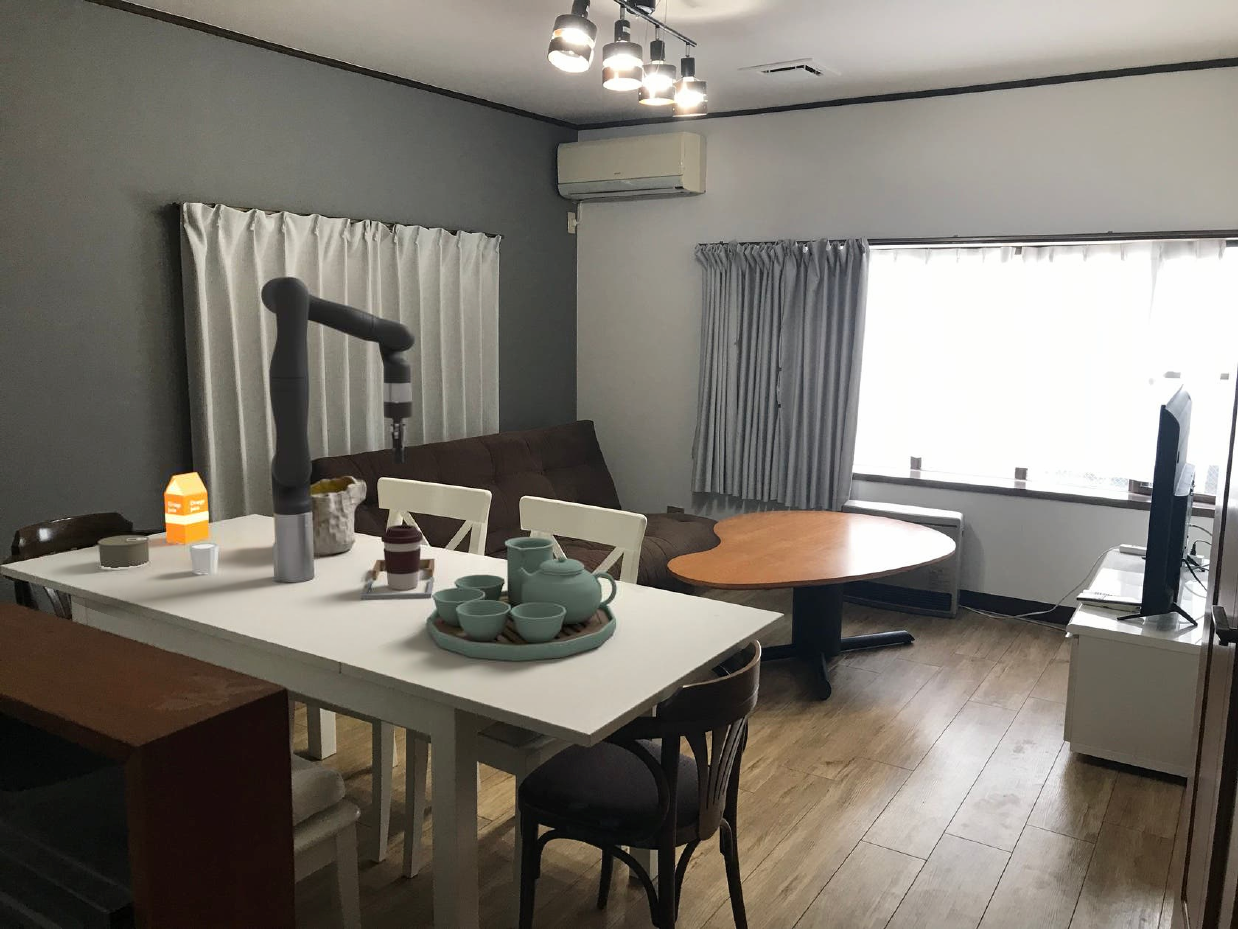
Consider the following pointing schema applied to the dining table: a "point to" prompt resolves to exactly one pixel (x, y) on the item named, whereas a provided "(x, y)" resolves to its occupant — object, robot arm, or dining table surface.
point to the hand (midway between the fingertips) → (398, 463)
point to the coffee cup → (402, 556)
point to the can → (124, 551)
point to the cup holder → (423, 565)
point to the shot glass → (204, 558)
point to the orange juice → (186, 509)
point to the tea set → (525, 608)
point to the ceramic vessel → (335, 513)
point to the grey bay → (397, 595)
